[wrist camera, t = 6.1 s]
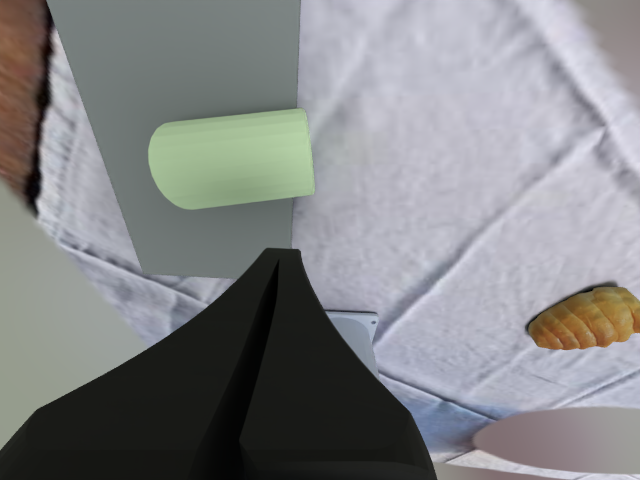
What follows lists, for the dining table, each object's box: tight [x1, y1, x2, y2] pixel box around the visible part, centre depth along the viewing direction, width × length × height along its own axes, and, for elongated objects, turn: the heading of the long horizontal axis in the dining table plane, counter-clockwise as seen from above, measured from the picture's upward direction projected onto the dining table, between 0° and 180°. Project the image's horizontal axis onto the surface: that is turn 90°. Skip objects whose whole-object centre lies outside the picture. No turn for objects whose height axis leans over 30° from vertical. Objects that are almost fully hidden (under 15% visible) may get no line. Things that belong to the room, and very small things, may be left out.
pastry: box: [528, 287, 640, 350], centre depth 26 cm, size 9×7×4 cm
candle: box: [148, 108, 315, 210], centre depth 15 cm, size 5×5×8 cm
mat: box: [47, 0, 301, 279], centre depth 17 cm, size 20×13×1 cm, turn 175°
